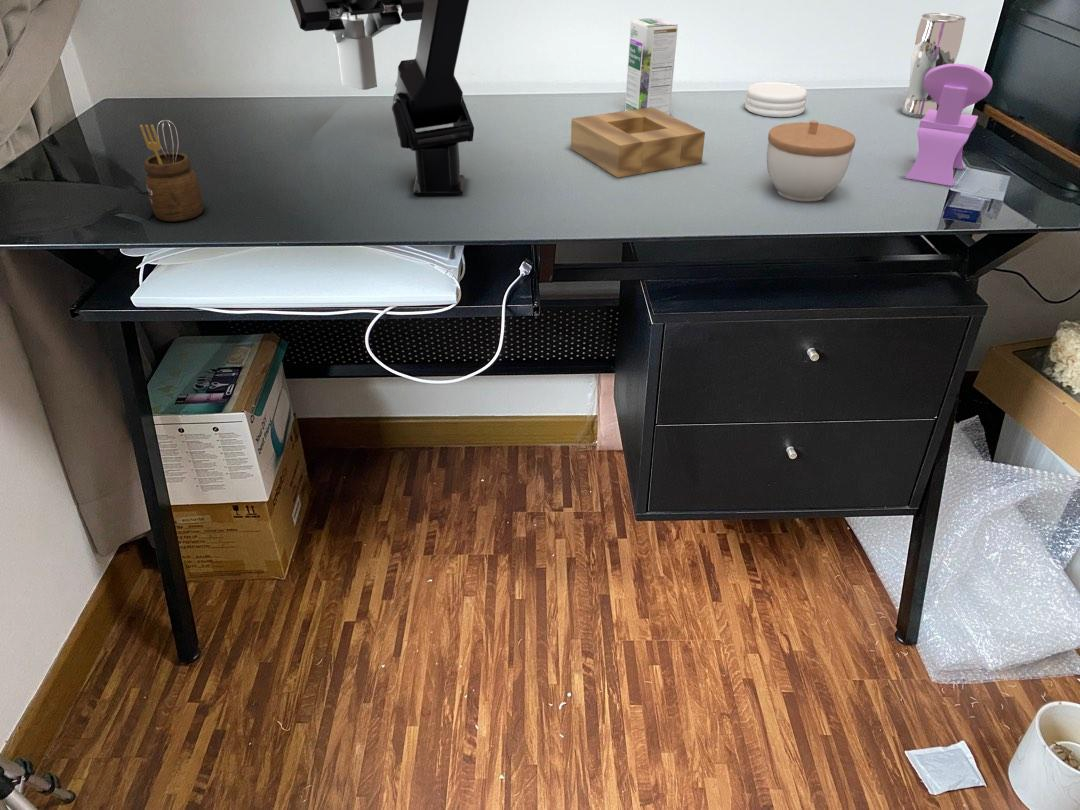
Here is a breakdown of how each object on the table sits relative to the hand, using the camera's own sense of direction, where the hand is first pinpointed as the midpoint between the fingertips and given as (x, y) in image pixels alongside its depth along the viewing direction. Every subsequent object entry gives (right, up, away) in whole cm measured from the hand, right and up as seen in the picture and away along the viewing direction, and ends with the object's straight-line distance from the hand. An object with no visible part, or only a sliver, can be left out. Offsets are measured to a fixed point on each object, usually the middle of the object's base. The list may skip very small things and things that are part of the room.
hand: (351, 38), depth 130 cm
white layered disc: (+69, -5, +16) cm, 71 cm away
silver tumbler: (+93, -7, +14) cm, 94 cm away
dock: (+43, -19, -4) cm, 47 cm away
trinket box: (+63, -28, -16) cm, 71 cm away
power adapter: (+1, -6, +3) cm, 7 cm away
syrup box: (+47, -7, +13) cm, 49 cm away
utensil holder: (-17, -32, -23) cm, 42 cm away
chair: (+84, -23, -10) cm, 88 cm away
